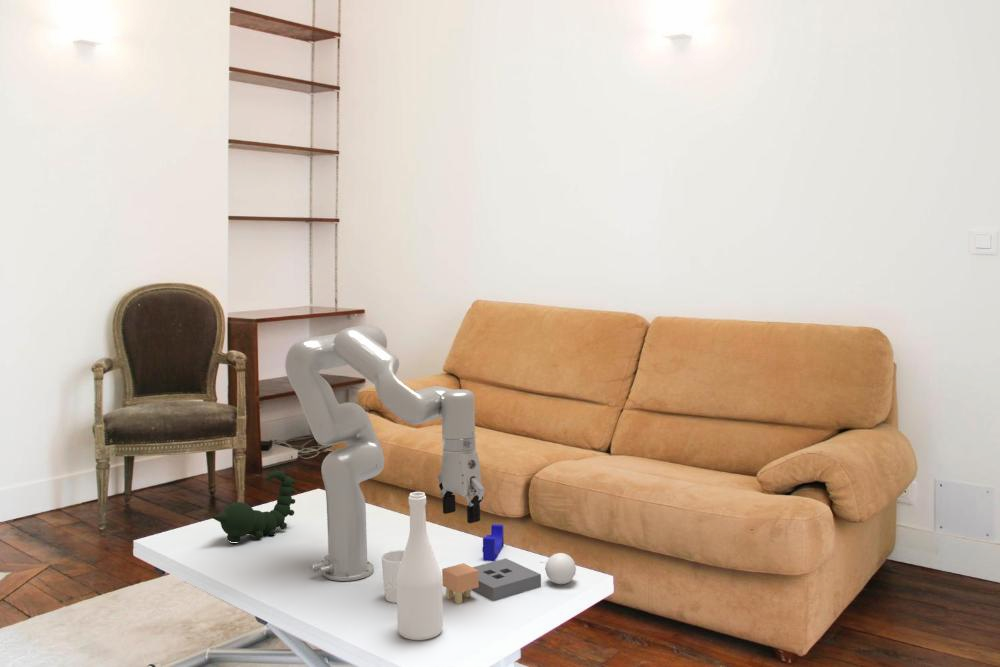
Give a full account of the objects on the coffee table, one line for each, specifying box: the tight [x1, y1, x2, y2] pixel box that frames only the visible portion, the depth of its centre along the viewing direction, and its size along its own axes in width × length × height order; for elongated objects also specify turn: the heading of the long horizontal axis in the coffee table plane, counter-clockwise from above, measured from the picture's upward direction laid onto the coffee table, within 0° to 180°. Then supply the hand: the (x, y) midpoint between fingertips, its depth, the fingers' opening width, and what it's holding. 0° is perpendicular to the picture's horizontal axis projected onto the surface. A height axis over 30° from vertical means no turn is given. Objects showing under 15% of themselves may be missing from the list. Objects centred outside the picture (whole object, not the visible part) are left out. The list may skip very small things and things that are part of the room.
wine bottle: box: [396, 491, 444, 641], centre depth 193 cm, size 10×10×30 cm
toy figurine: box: [211, 470, 296, 542], centre depth 256 cm, size 9×19×25 cm
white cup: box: [381, 549, 405, 604], centre depth 212 cm, size 8×8×10 cm
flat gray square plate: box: [471, 558, 542, 601], centre depth 220 cm, size 14×14×3 cm
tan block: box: [441, 563, 479, 604], centre depth 212 cm, size 6×6×7 cm
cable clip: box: [482, 523, 505, 562], centre depth 242 cm, size 12×4×6 cm, turn 168°
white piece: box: [540, 552, 577, 585], centre depth 221 cm, size 10×7×7 cm
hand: (461, 517), depth 211 cm, fingers open, 9 cm apart
